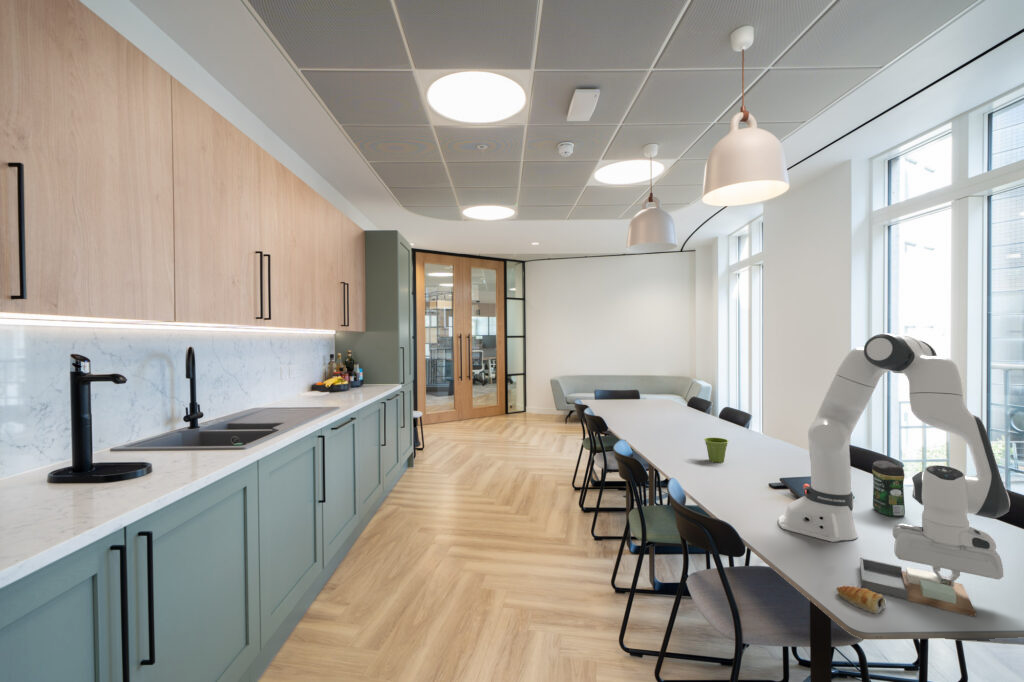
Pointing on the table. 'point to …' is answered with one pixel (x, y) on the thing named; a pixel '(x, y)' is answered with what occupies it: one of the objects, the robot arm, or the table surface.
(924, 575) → the tile cream
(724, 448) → the plant pot
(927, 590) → the tile sage
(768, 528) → the table surface
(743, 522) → the table surface
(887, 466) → the coffee jar
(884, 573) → the tray
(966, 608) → the board
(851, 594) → the pastry
